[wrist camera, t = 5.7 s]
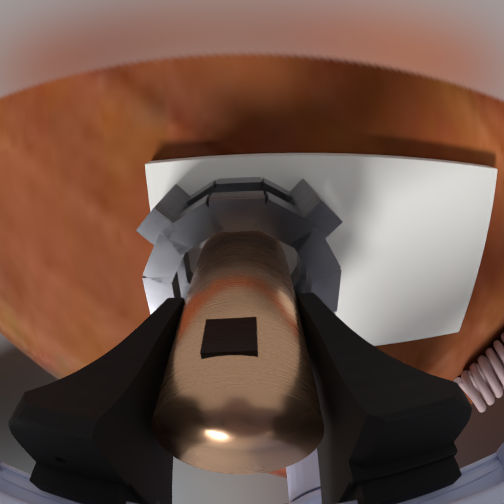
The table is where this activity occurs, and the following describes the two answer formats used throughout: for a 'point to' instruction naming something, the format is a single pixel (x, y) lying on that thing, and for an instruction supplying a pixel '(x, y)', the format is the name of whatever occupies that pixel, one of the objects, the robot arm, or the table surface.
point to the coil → (485, 376)
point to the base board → (375, 230)
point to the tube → (239, 364)
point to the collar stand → (241, 219)
